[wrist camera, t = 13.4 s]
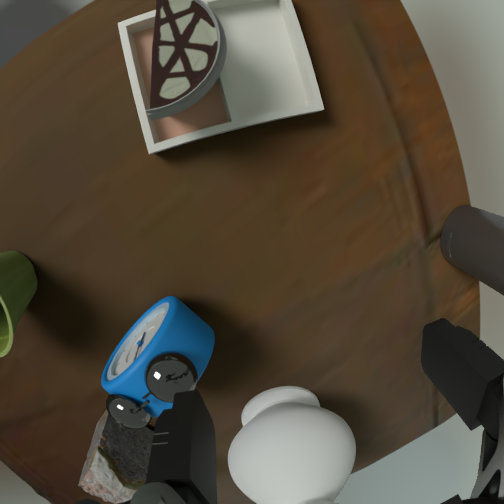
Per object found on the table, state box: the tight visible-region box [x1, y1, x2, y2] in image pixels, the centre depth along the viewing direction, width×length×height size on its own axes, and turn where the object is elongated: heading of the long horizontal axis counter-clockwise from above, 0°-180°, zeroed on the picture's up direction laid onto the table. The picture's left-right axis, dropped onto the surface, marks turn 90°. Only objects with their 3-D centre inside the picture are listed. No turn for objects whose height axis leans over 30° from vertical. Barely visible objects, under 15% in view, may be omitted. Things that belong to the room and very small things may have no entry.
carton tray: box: [118, 0, 324, 154], centre depth 29 cm, size 18×16×3 cm
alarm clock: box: [101, 296, 215, 430], centre depth 32 cm, size 13×6×15 cm, turn 132°
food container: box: [146, 0, 227, 120], centre depth 25 cm, size 12×6×10 cm, turn 179°
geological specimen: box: [78, 410, 154, 504], centre depth 37 cm, size 11×6×15 cm, turn 48°
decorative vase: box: [228, 386, 356, 504], centre depth 34 cm, size 18×18×25 cm
